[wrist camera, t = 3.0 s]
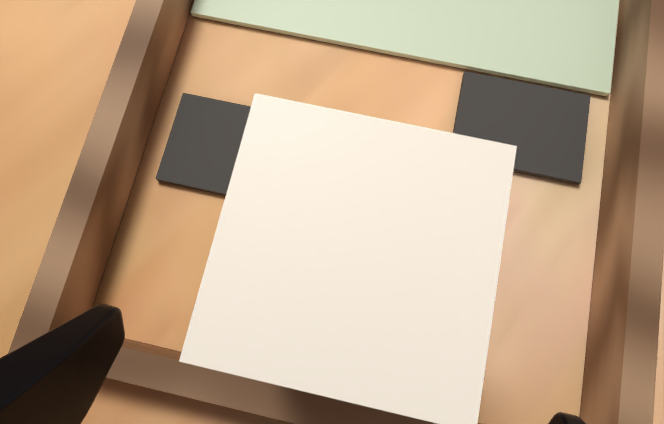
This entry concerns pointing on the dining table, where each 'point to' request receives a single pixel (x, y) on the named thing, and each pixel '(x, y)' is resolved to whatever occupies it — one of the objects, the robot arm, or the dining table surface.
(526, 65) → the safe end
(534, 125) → the brown flat frame
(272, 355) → the pale cream block
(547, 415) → the dining table surface
